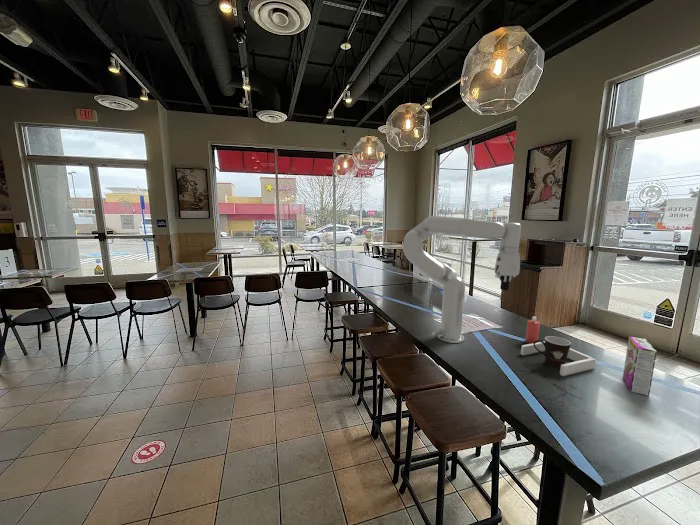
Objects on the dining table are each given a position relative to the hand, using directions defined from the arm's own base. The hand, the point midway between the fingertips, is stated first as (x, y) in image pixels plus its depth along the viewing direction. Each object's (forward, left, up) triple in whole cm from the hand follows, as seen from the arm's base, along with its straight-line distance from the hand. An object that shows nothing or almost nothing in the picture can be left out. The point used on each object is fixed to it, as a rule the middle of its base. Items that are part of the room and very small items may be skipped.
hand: (504, 289), depth 134 cm
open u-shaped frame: (+8, -21, -26) cm, 35 cm away
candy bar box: (+17, -43, -26) cm, 53 cm away
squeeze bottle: (+15, -4, -26) cm, 30 cm away
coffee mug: (+5, -21, -26) cm, 34 cm away
